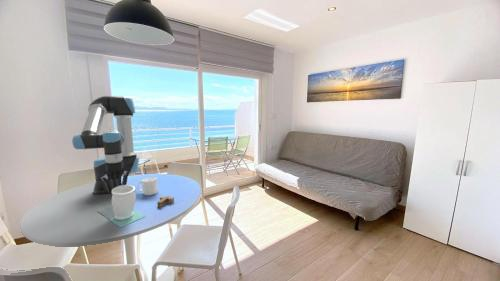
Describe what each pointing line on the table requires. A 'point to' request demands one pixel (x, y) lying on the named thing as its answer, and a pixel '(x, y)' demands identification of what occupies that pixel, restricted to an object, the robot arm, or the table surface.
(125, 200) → the jar
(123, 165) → the robot arm
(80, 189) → the table surface
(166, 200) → the t block
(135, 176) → the table surface
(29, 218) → the table surface
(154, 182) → the mug
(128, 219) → the mat
